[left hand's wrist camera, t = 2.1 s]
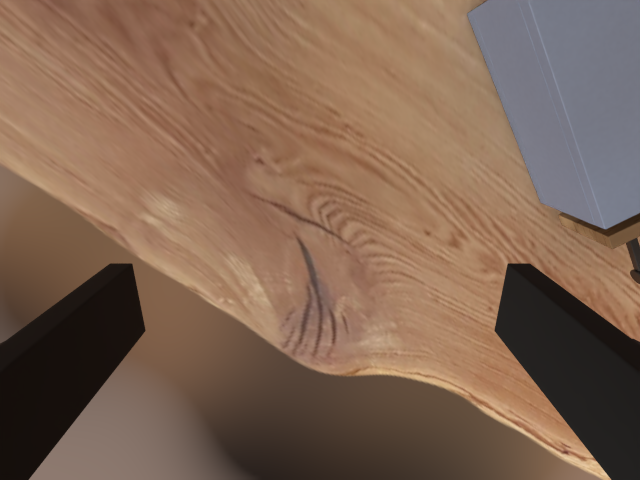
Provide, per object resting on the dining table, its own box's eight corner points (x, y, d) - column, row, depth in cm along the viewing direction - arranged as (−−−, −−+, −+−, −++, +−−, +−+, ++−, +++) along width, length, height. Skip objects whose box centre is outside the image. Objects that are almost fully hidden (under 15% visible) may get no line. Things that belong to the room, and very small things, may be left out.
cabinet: (654, 144, 32) (760, 155, 24) (540, 202, 34) (605, 230, 26) (597, -70, 27) (710, -142, 19) (466, 13, 29) (520, -22, 21)
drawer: (677, 227, 34) (752, 251, 28) (580, 273, 35) (631, 305, 30) (614, -17, 27) (694, -51, 21) (497, 54, 29) (542, 40, 23)
